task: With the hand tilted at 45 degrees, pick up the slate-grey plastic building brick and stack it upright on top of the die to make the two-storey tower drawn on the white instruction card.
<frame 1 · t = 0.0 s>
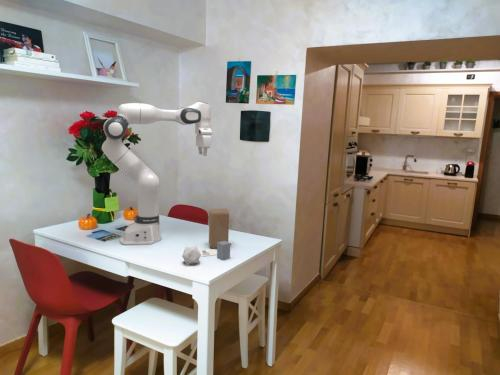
hand: (202, 155, 212), 48 cm above the table, tool pointing down, fingers open, 8 cm apart
die: (191, 263, 176), on the table
block: (218, 246, 203), on the table
brick: (223, 258, 184), on the table
instruction card: (205, 253, 190), on the table
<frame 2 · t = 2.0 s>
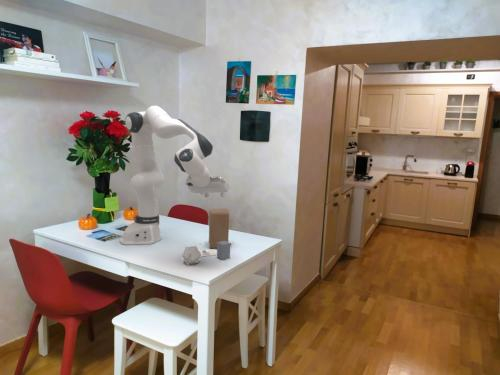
hand: (215, 196, 180), 31 cm above the table, tool tilted 45°, fingers open, 8 cm apart
nothing on the table moved.
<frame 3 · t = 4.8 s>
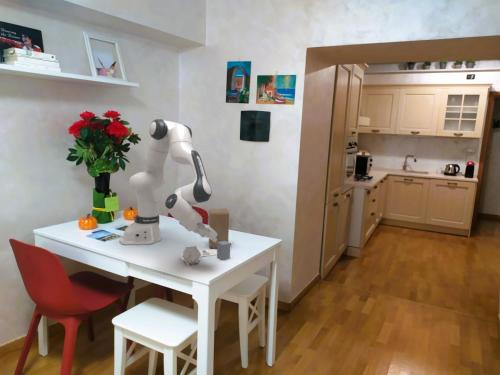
hand: (209, 238, 177), 12 cm above the table, tool tilted 45°, fingers open, 8 cm apart
nothing on the table moved.
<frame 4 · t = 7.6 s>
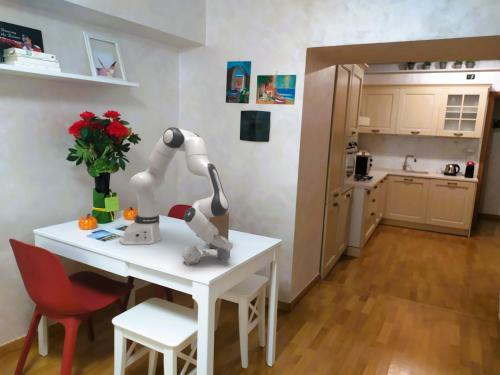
hand: (224, 249, 184), 5 cm above the table, tool tilted 45°, fingers closed on brick, 5 cm apart
brick: (223, 258, 184), on the table, touching gripper
everything else where it was.
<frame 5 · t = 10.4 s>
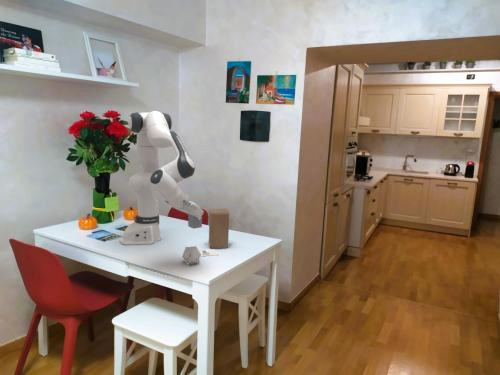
hand: (196, 217, 174), 22 cm above the table, tool tilted 45°, fingers closed on brick, 5 cm apart
brick: (195, 226, 174), point 18 cm above the table, touching gripper
everything else where it was.
when the fingers open (14 cm above the table, at t = 13.2 s): brick drops 2 cm, resting on die.
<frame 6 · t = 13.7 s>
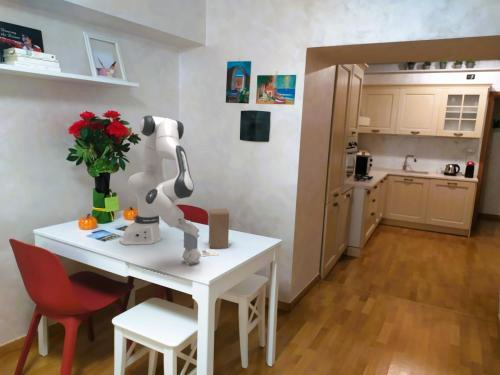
hand: (192, 234, 174), 14 cm above the table, tool tilted 45°, fingers open, 8 cm apart
die: (191, 263, 176), on the table, touching brick
brick: (190, 247, 175), point 8 cm above the table, touching die
everything else where it was.
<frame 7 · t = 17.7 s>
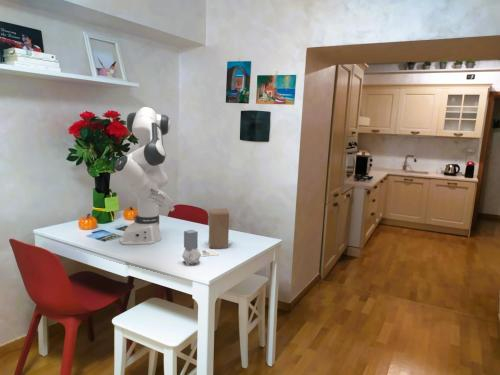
hand: (167, 207, 163), 29 cm above the table, tool tilted 45°, fingers open, 8 cm apart
nothing on the table moved.
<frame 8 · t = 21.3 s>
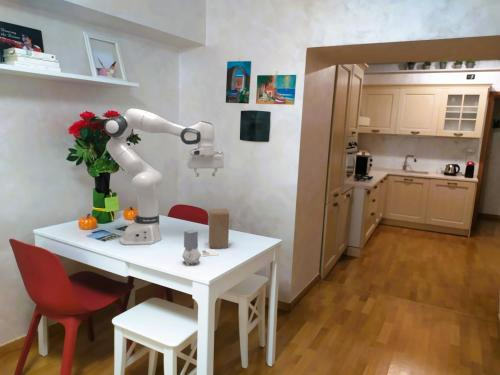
hand: (205, 176, 205), 37 cm above the table, tool pointing down, fingers open, 8 cm apart
nothing on the table moved.
at the end: brick 0.4 cm off-centre on the die, point 7.9 cm above the die's base; brick tilted 0°; the gripper is holding nothing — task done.
